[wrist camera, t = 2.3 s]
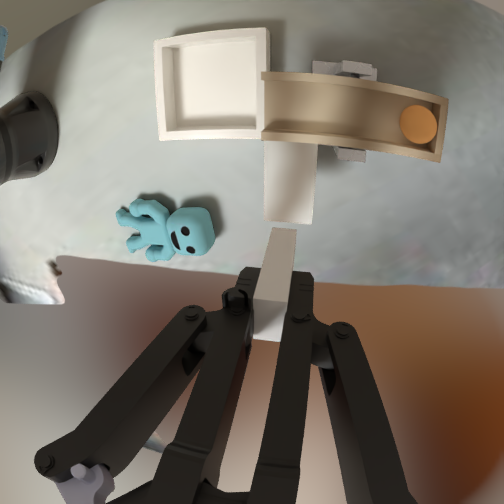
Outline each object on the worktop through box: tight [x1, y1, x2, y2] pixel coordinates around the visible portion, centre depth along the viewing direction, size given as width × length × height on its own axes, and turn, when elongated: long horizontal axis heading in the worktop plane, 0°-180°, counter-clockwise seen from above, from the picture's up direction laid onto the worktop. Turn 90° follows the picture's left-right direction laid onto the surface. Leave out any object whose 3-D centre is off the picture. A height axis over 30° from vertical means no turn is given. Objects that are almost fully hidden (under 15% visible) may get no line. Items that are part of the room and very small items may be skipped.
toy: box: [116, 199, 215, 262], centre depth 39 cm, size 10×5×15 cm
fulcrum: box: [312, 60, 377, 162], centre depth 23 cm, size 11×10×8 cm
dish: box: [154, 28, 270, 141], centre depth 27 cm, size 12×12×4 cm
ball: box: [399, 105, 437, 144], centre depth 18 cm, size 3×3×3 cm
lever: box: [261, 72, 449, 224], centre depth 22 cm, size 15×14×3 cm
